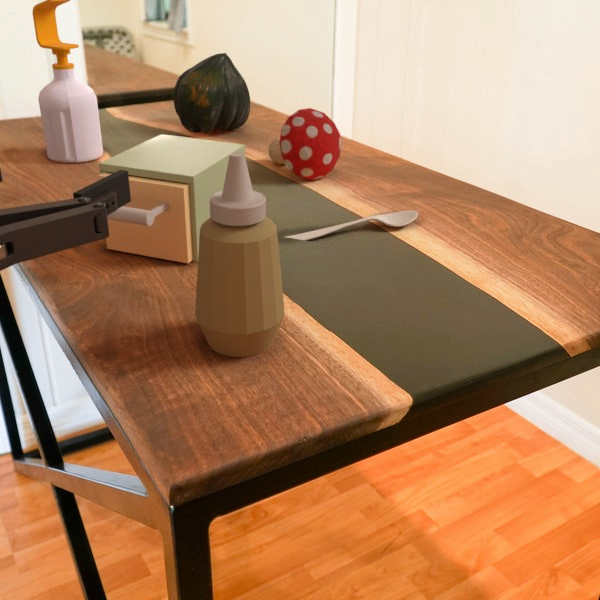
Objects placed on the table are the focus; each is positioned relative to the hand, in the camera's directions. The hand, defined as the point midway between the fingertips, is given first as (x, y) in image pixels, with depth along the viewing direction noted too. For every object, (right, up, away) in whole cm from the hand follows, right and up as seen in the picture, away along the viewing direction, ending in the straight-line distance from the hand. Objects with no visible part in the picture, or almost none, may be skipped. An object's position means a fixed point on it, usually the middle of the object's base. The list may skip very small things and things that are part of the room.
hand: (59, 175), depth 58 cm
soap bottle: (-17, +13, +53) cm, 57 cm away
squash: (+4, +22, +71) cm, 75 cm away
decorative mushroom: (+22, +10, +49) cm, 55 cm away
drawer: (+5, -4, +20) cm, 21 cm away
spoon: (+28, -2, +27) cm, 39 cm away
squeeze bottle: (+16, -15, +3) cm, 22 cm away
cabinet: (+7, -3, +24) cm, 25 cm away
